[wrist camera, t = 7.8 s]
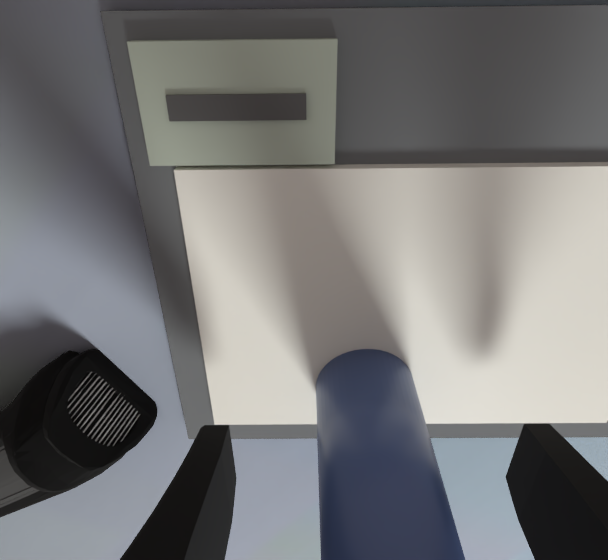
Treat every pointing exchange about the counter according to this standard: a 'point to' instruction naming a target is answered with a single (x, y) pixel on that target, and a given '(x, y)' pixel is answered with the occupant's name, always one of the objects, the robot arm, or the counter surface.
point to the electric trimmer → (68, 428)
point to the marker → (378, 465)
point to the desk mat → (387, 126)
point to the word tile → (237, 100)
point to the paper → (403, 285)
